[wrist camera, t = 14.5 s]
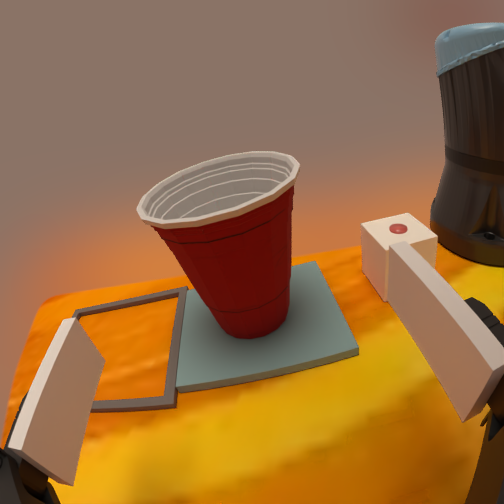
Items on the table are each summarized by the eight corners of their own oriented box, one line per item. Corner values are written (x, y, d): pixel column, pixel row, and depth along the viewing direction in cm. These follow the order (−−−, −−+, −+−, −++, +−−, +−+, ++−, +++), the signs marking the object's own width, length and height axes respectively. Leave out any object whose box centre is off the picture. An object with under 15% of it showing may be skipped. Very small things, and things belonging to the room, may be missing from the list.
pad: (316, 267, 31) (315, 260, 30) (358, 354, 20) (358, 347, 20) (189, 296, 31) (187, 290, 30) (179, 392, 20) (175, 386, 20)
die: (406, 258, 28) (407, 211, 26) (432, 286, 24) (438, 234, 21) (362, 270, 28) (360, 222, 26) (384, 302, 24) (385, 248, 21)
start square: (188, 289, 32) (187, 285, 32) (176, 407, 19) (173, 403, 19) (77, 313, 32) (75, 309, 32) (33, 410, 19) (30, 407, 19)
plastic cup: (175, 370, 21) (102, 224, 16) (205, 285, 31) (166, 169, 25) (326, 361, 19) (304, 184, 14) (315, 271, 29) (295, 142, 23)
